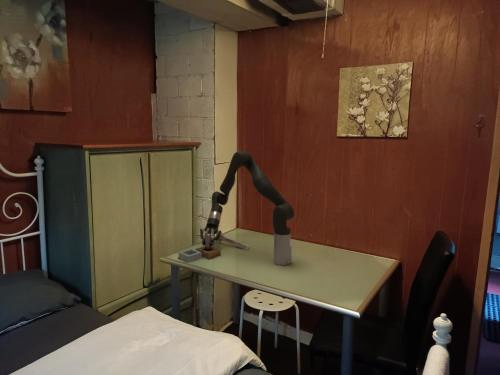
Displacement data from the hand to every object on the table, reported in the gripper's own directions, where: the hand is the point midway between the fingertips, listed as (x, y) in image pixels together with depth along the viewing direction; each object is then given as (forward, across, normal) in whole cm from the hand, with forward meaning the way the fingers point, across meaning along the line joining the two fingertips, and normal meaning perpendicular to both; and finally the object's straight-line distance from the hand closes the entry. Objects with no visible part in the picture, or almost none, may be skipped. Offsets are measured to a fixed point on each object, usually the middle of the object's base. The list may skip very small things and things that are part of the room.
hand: (207, 245), depth 215 cm
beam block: (+3, 0, +6) cm, 7 cm away
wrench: (-11, +8, +21) cm, 25 cm away
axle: (+3, 0, +6) cm, 7 cm away
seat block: (+9, -8, 0) cm, 12 cm away
